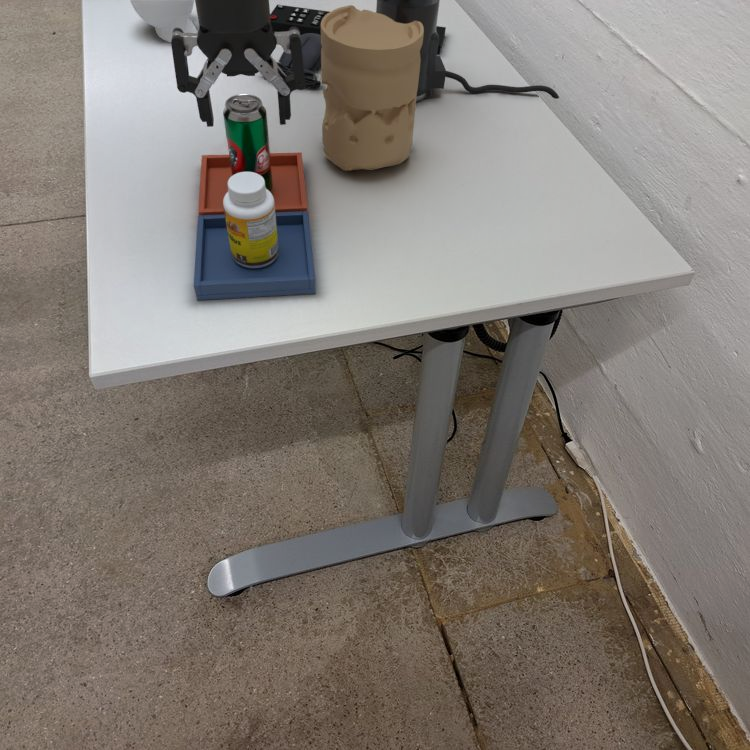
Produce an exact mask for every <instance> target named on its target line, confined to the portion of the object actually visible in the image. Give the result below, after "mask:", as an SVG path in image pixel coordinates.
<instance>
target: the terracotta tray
mask: <svg viewBox="0 0 750 750" xmlns="http://www.w3.org/2000/svg"><path fill="white" fill-rule="evenodd" d="M270 159H271V170H272V182H273V188H272V190H271V191H270V192H271V194H272V195H273V198H274V204H275V212H300V211H302V212H303V211H308V212H309V209H308V199H307V190H306V182H305V181H306V180H305V172H304V171H305V170H304V162H303V153H302V152H270ZM200 160H201V162H200V163H201V164H200V177H199V193H198V194H199V195H198V210H197V213H198V216H200V215H225V212H224V206H223V199H224V196H225V195H226V193H227V192H228V180H229V178H230V177H231V176H232V172H231V165H230V158H229V153H228V154H203V155H201V159H200Z"/></svg>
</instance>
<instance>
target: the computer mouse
mask: <svg viewBox="0 0 750 750" xmlns="http://www.w3.org/2000/svg"><path fill="white" fill-rule="evenodd" d="M300 38H301V47H302V56H303V66H304V75H305V88H309V89H311V90H312V89H313V90H315V89H319V88H320V87H321V86H322V79H321V74H319V73H316V71H317V70H318V69H321V49H322V45H321V35H319V34H314V33H306V34H303V35H300ZM276 63H277V65H278V66H279V68H280V69H281V70H282V71H283V72H284V73H285V75H286V76H288V75H291V74H293V65H292V56H291V54H286V53H285V52H284V51H283V52H282V53H281V55H280V58H279V60H278V61H276Z"/></svg>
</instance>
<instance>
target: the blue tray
mask: <svg viewBox="0 0 750 750" xmlns="http://www.w3.org/2000/svg"><path fill="white" fill-rule="evenodd" d="M275 215H276V226H277V237H278V255H277V257H276V259H275V260H274V261H273V262H272V263H271V264H269V265H267V266H265V267H261V268H247V267H244V266H241V265H240V264H238V263H237V262H236V261H235V260H234V259H233V257H232V254H231V248H230V242H229V236H228V230H227V224H226V218H225V215H200V216H199V215H197V228H196V243H195V258H194V259H195V260H194V273H193V274H194V275H193V288H194V293H195V298H196V300H197V301H205V300H206V301H207V300H209V301H210V300H223V299H224V300H227V299H243V298H244V299H245V298H261V297H278V296H279V297H280V296H297V295H313V294H316V293H317V290H316V289H317V288H316V274H315V265H314V264H315V263H314V255H313V245H312V236H311V235H312V234H311V228H310V227H311V225H310V217H309V210H308V211H303V212H302V211H300V212H275Z"/></svg>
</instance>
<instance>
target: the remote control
mask: <svg viewBox="0 0 750 750" xmlns="http://www.w3.org/2000/svg"><path fill="white" fill-rule="evenodd" d="M329 12H330V11H328V10H321V9H314V8H306V7H299V6H291V5H285V4H276V6H275V7H274V8H273V10H272V11H271V12H270V20H271V26H272V28H273V30H274V31H275V32H285V31H289V29H290V28H291V27H297V28H298V29H299V31H300V36H301V35H303V34H306V33H314V34H319V35H321V21H322V19H323V17H324V16H325V15H326V14H328V13H329ZM446 28H447V27H446V26H439V25H437V27H436V31H437V34H438V36H439V41H438V49H437V55H440V54H441V51H442V48H443V44H444V40H445V36H446V30H447V29H446Z"/></svg>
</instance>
